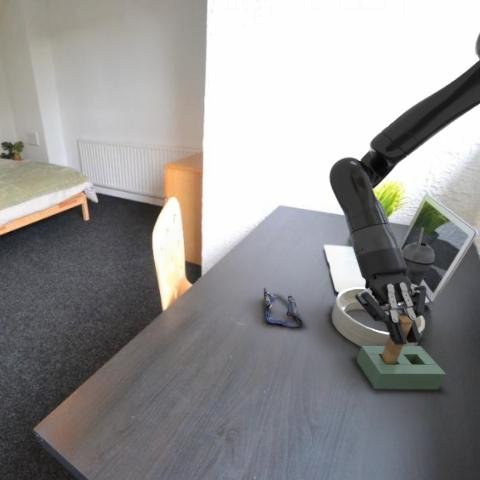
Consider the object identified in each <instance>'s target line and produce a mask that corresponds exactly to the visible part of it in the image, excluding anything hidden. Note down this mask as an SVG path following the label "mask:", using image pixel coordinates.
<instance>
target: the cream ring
mask: <svg viewBox="0 0 480 480" xmlns="http://www.w3.org/2000/svg"><path fill="white" fill-rule="evenodd" d="M364 290H365V287H350V288H346V289H343V290H342V291H340V292H338V294H337V296H336V298H335V301H334V305H333V308H332V312H331V321H332V324H333V326H334V327H335V329H336V330H337V331H338V332H339V333H340V334H341V335H342V336H343V337H345V338H346V339H347V340H349V341H350V342H351V343H353V344H356V345H357V346H359V347H361V346H386V343H387V340H388V338H389V332H388V331H387V332H386V331H381V330H378V329H375V328H372V327H370V326H366V325H364V323H361V322H359V321H357V320H356V319H354V318H353V317H351V315H349V314H348V312H350V311H353V310H365V309H364V308H363V306H362V305H361V304H360V303H359V302H358V301H357V299H356V298H355V295H356V294H359V293H361V292H363V291H364ZM374 300H375V301H376V299H375V298H374ZM403 303H404V302H401V303H400V304H403ZM387 305H388V304H387ZM387 305H386V306H387ZM404 310H405V309H404ZM365 311H366V310H365ZM396 311H397V310H396ZM405 312H406V311H405ZM397 315H398V312H397ZM398 316H399V315H398ZM415 322H416V325H417V328H418V331H419V334H420V338H421V337H422V335H423V333H424V330H425V327H426V320H425V318H424V315H423V316H419V317H417V318H416V320H415ZM406 341H407V340H406ZM418 344H419V342H417V343H408V342H407V343H406V344H404V345H403V346H418Z"/></svg>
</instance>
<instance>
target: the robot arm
mask: <svg viewBox="0 0 480 480" xmlns="http://www.w3.org/2000/svg"><path fill="white" fill-rule="evenodd" d="M474 53H475V57H476V60H477V61H476V62H475V63H474V64H472V65H471V66H469V68H468V69H466V70H465V71H464V72H463V73H461V74H460V75H459V76H458V77H455V78H454V79H453V80H452V81H451V82H449V83H448V84H446V85H444V86H443V87H441V88H439V89H438V90H436V91H435V92H433V93H431V94H430V95H428V96H426V97H424V98H423V99H422V100H420V101H417V102H416V103H415V104H414V105H412V106H411V107H410V108H408V109H406V110H405V111H403V112H402V113H400V115H398V116H397V117H396V118H394V120H392V121H390V123H389V124H388V125H386V126H385V127H384V128H383V129H381V131H380V132H378V133H377V134H376V135H375V136H374V137H373V138H372V139H371V140H370V142H369V150H368V151H367V152H366V153H365V154H364V155H363V156H362V157H361V158H360V159H359V158H357V157H353V156H347V157H343V158H340V159H338V160H337V161H335V162H334V163H333V164H332V166H331V168H330V169H329V174H328V179H329V185H330V187H331V190H332V192H333V194H334V197H335V199H336V201H337V203H338V205H339V207H340V209H341V210H342V212H343V215H344V219H345V223H346V227H347V229H348V233H349V235H350V240H351V246H352V247H351V248H352V250H353V254H354V256H355V259H356V263H357V266H358V269H359V272H360V275H361V277H362V279H364V281H365V284H364V288H365V290H364V291H363V292H361V293H359V294H356V295H355V298H356V299H357V301H358V302H359V303H360V304H361V305H362V306H363V308H364V309H365V312H367V314H368V315H369V316H370V317H371V318H372V320H373V321H375V322H381V323H383V324H385V326H386V330H387V333H389V335H390V338H391V340H392V341H393V342H394V343H395V344H396V345H402V344H406V343H407V342H408V343H417V342H418V343H420V342H421V337H420V334H419V331H418V328H417V325H416V322H415V320H416V318H417V317H419V316H423V317H424V315H425V307H426V298H427V289H428V288H427V287H426V286H425V285H422V284H421V285H420V286H417V285H414V284H412V283H411V281H410V280H409V278H408V277H407V276H406V270H407V266H406V264H405V261H404V258H403V255H402V253H401V252H402V250H401V247H400V245H399V241H398V239H397V236H396V234H395V232H394V230H393V228H392V227H391V224H390V221H389V218H388V216H387V213H386V210H385V208H384V206H383V204H382V203H381V200H379V199H378V197H377V196H376V194H375V191H374V190H375V188H377V187H378V186H379V184H381V183H382V182H383V181H384V180H385V179H386V178H387V176H389V174H390V173H392V172H393V170H394V169H395V168H396V167H397V165H398V164H399V163H401V162H402V161H403V160H405V159H406V158H408V157H409V156H410V155H412V154H413V153H414V152H416V151H417V150H418V149H420V147H422V146H423V145H424V144H425V143H427V142H428V141H429V140H431V139H433V138H434V137H435V136H436V135H438V134H439V133H440V132H442V131H443V130H444V129H445V128H447V127H448V126H449V125H451V124H453V123H454V122H455V121H457V120H458V119H460V118H461V117H462V116H464V115H466V114H468V113H469V112H470V111H471V110H473V109H475V108H476V107H478V106H479V105H480V32H479V33H478V35H477V37H476V40H475V44H474ZM374 298H375V299H376V301H375V300H374ZM401 302H404V303H403V304H400V303H401ZM387 304H388V305H387ZM386 305H387V306H386ZM364 309H363V310H364ZM404 309H405V310H404ZM396 310H397V311H396ZM405 311H406V312H405ZM397 312H398V315H399V316H408V317H409V319H410V320H411V321H412V322H413V323H412V326H411V328H410V330H409V333H408V335H407V338H405V335H404V332H403V329H402V326H401V323H398V321H399V319H398V315H397ZM406 340H407V341H406Z"/></svg>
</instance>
